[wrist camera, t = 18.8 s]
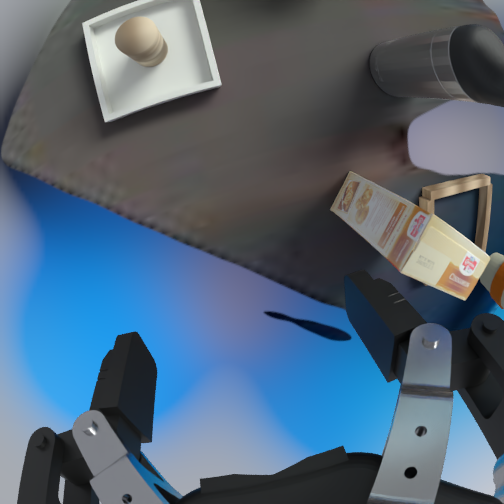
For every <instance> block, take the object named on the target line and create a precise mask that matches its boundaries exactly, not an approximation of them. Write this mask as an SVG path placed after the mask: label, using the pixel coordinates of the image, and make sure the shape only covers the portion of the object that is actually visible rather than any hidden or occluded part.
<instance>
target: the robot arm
mask: <svg viewBox="0 0 504 504" xmlns="http://www.w3.org/2000/svg"><path fill="white" fill-rule="evenodd" d="M370 70H371V74H372V76H373V78H374V80H375V82H376V83H377V85H378V86H379V87H380V88H381V89H382V90H383V91H384V92H386V93H387V94H389V95H391V96H395V97H414V98H434V99H447V100H459V101H469V102H477V103H485V104H491V105H495V106H501V107H504V45H503V43H502V42H501V40H500V39H499V38H498V37H497V36H496V35H495V34H494V33H493V32H492V31H491V30H489V29H488V28H486V27H484V26H482V25H477V24H470V25H463V26H456V27H450V28H445V29H439V30H434V31H429V32H424V33H419V34H415V35H411V36H406V37H402V38H398V39H394V40H390V41H386V42H383V43H380V44H378V45H377V46H376V47H375V48H374V49H373V51H372V53H371V56H370ZM344 286H345V303H346V312H347V315H348V318H349V321H350V322H351V324H352V326H353V327H354V329H355V330H356V332H357V334H358V335H359V337H360V338H361V340H362V342H363V343H364V344H365V346H366V348H367V349H368V351H369V353H370V354H371V356H372V358H373V359H374V360H375V362H376V364H377V366H378V367H379V369H380V371H381V372H382V374H383V376H384V377H385V379H386V381H387V382H390V381H393V380H395V379H398V380H399V382H400V383H401V386H400V390H399V395H398V399H397V404H396V408H395V412H394V416H393V419H392V423H391V427H390V430H389V434H388V437H387V440H386V444H385V447H384V450H383V453H382V456H381V455H378V454H373V453H363V452H353V453H346V452H345V449H344V447H343V446H341V447H338V448H335V449H332V450H329V451H326V452H323V453H320V454H316V455H313V456H310V457H307V458H305V459H304V460H302V461H300V462H298V463H296V464H294V465H292V466H290V467H288V468H286V469H284V470H282V471H280V472H278V473H276V474H273V475H240V474H232V475H226V476H219V477H212V478H204V479H200V486H201V487H200V488H198V489H196V490H193V491H191V492H190V493H188V494H186V495H185V496H182V495H181V494H180V493H179V492H177V491H176V490H175V489H174V488H173V487H172V486H171V485H170V484H169V483H168V482H167V481H166V480H165V479H164V477H163V476H162V475H161V474H160V473H159V472H158V470H157V469H156V468H155V467H154V466H153V465H152V463H151V462H150V461H149V460H148V458H147V457H146V456H145V455H144V453H143V452H141V451H140V449H141V443H149V442H152V430H153V414H154V402H155V390H156V380H157V368H156V363H155V361H154V359H153V357H152V355H151V354H150V352H149V350H148V349H147V347H146V345H145V344H144V342H143V340H142V339H141V337H140V335H139V334H138V333H137V332H131V333H126V334H122V335H118V336H117V338H116V341H115V345H114V349H113V350H110V351H109V352H108V353H107V355H106V356H105V358H104V359H103V361H102V364H101V368H100V373H99V375H98V381H97V382H96V386H95V390H94V394H93V398H92V402H91V406H90V410H89V411H87V412H84V413H83V414H81V415H80V416H79V417H78V418H77V419H76V421H75V422H74V425H73V428H72V430H69V431H66V432H63V433H60V434H56V433H55V432H54V431H53V430H51V429H50V428H48V427H42V428H40V429H38V430H36V431H35V432H34V433H33V434H32V436H31V437H30V440H29V443H28V447H27V452H26V456H25V461H24V465H23V471H22V476H21V482H20V488H19V494H18V501H17V504H61V503H60V501H59V498H58V491H59V482H60V476H61V477H63V478H65V489H64V499H63V504H99V500H100V501H101V503H102V504H504V321H503V320H502V319H501V318H500V317H498V316H496V315H494V314H490V313H484V314H480V315H478V316H476V317H475V318H474V319H473V321H472V324H471V327H470V328H468V329H463V330H457V331H451V332H449V331H448V330H447V329H446V328H444V327H443V326H441V325H438V324H433V323H427V322H426V321H425V320H424V319H423V318H422V317H421V316H420V315H419V313H418V312H417V311H416V310H415V309H414V308H413V307H412V306H411V305H410V304H409V302H408V301H407V300H405V299H404V297H403V296H402V295H401V294H400V293H398V291H397V290H396V288H395V287H394V286H393V285H392V284H391V283H389V282H387V281H384V280H382V279H380V278H378V279H375V280H373V279H372V277H371V276H370V275H369V274H368V273H367V272H366V271H365V270H360V271H357V272H354V273H351V274H348V275H345V277H344ZM454 390H457V391H458V392H459V394H460V395H461V397H462V399H463V400H464V402H465V403H466V405H467V407H468V409H469V410H470V412H471V413H472V415H473V417H474V418H475V420H476V422H477V423H478V425H479V427H480V429H481V430H482V432H483V434H484V436H485V438H486V439H487V441H488V443H489V445H490V447H491V448H492V450H493V452H494V454H495V456H496V458H497V462H496V464H495V466H494V471H493V475H494V479H493V480H494V483H495V485H496V489H495V494H494V497H493V496H491V495H487V494H484V493H480V492H477V491H473V490H470V489H467V488H464V487H461V486H458V485H455V484H452V483H450V482H447V481H444V480H441V479H440V478H441V474H442V469H443V465H444V459H445V455H446V449H447V443H448V437H449V431H450V424H451V416H452V407H453V391H454Z"/></svg>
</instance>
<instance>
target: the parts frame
mask: <svg viewBox="0 0 504 504" xmlns="http://www.w3.org/2000/svg"><path fill="white" fill-rule="evenodd" d="M476 188H479V205H478V218H477V228H476V237H475V245H476V246H477V247H479V248H480V249H481V250H482V251H484V252H485V250H486V244H487V237H488V229H489V220H490V210H491V197H492V184H491V183H490V177H489V176H487V175H484V174H478V175H474V176H470V177H465V178H461V179H456V180H452V181H448V182H444V183H439V184H435V185H431V186H427V187H422V196H421V197H419V207H420V208H422V209H424V210H425V211H427V212H429V213H431V214H434V200H435V199H439V198H442V197H446V196H450V195H454V194H457V193H461V192H465V191H468V190H472V189H476ZM422 283H423V282H422ZM423 284H424V285H425V286H427V284H425V283H423Z"/></svg>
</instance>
